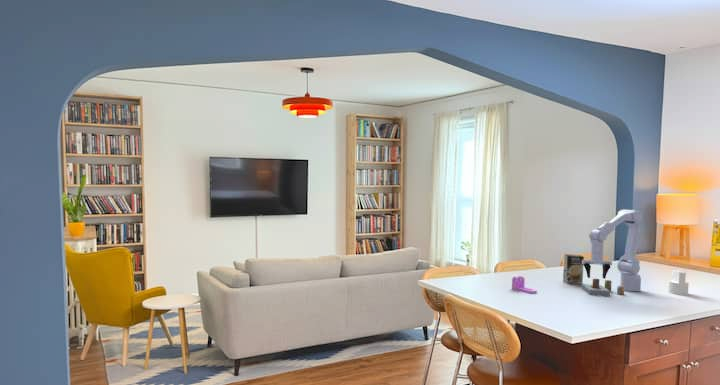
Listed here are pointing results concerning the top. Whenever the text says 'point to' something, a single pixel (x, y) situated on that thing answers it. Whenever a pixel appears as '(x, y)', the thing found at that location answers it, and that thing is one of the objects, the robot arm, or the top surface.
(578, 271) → the coffee box
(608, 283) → the mid dowel
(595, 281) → the tall dowel
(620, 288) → the short dowel
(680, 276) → the base with upright slab
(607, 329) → the top surface
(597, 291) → the hole board
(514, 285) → the bracket
